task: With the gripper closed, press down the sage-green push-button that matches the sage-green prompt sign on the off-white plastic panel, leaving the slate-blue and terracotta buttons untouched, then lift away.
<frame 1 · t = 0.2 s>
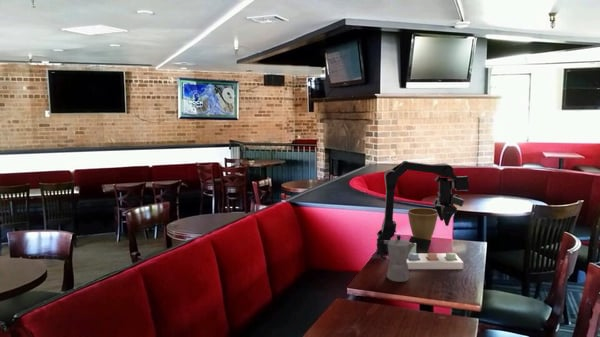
hand: (444, 223, 219), 14 cm above the table, fingers open, 9 cm apart
terracotta button: (432, 258, 204), point 3 cm above the table, slide at 0.0 cm
handheld gaming console: (416, 251, 225), on the table
slate blue button: (413, 258, 205), point 3 cm above the table, slide at 0.0 cm
coffeepot: (395, 278, 191), on the table
sage green button: (450, 257, 204), point 3 cm above the table, slide at 0.0 cm
button panel: (431, 264, 206), on the table
plant pot: (422, 241, 239), on the table
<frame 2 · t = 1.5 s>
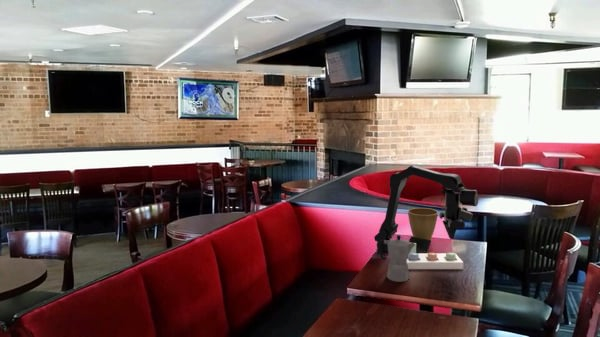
hand: (451, 238, 203), 12 cm above the table, fingers closed
nothing on the table moved.
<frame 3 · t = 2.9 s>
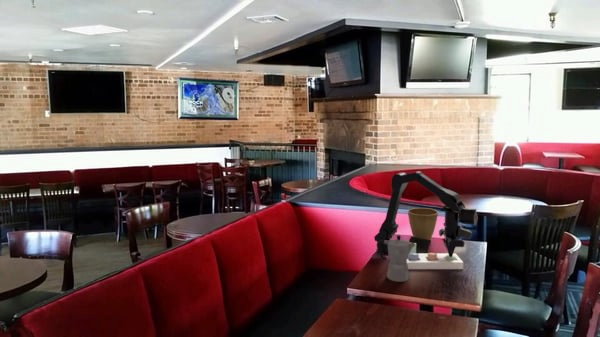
hand: (450, 256, 204), 4 cm above the table, fingers closed, pressing on sage green button
sage green button: (450, 260, 204), point 2 cm above the table, slide at 1.1 cm, touching gripper
everything else where it was.
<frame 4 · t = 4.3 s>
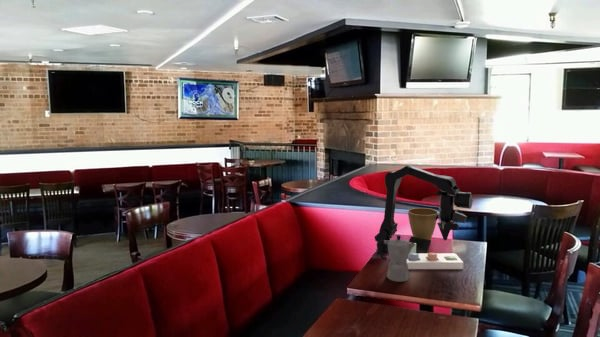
hand: (445, 240, 206), 11 cm above the table, fingers closed
sage green button: (450, 261, 204), point 2 cm above the table, slide at 1.4 cm
everything else where it was.
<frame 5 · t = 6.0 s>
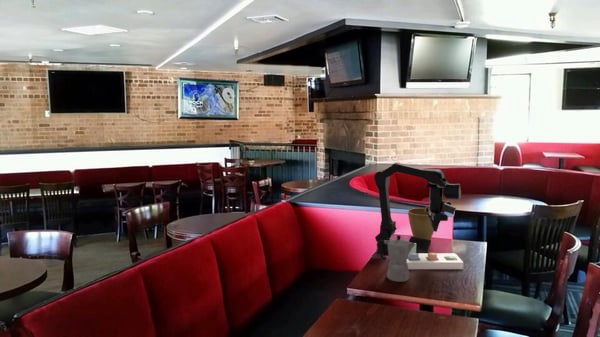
hand: (435, 231, 211), 13 cm above the table, fingers closed
nothing on the table moved.
at the end: sage green button slide at 1.4 cm; terracotta button slide at 0.0 cm; slate blue button slide at 0.0 cm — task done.
